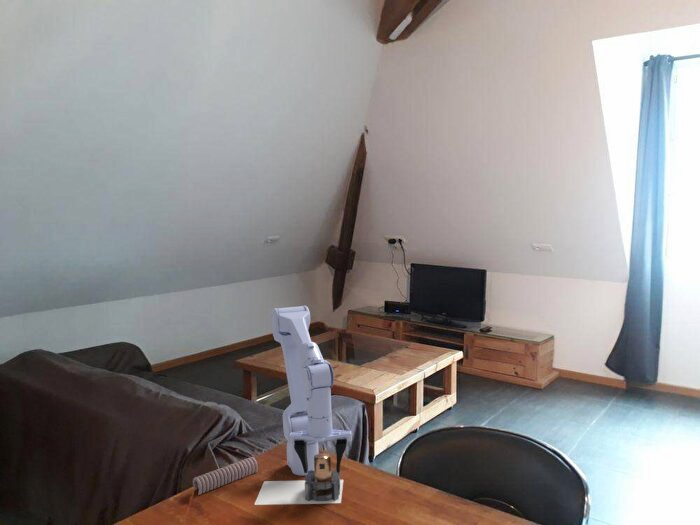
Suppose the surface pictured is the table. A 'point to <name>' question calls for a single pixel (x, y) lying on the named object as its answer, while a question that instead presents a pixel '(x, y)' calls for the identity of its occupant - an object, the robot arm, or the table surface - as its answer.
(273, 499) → the base board
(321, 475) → the tube
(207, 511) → the table surface
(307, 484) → the collar stand
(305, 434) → the robot arm
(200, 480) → the coil
